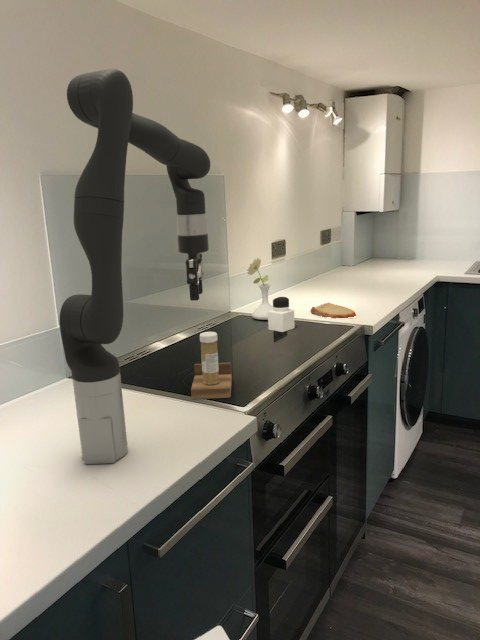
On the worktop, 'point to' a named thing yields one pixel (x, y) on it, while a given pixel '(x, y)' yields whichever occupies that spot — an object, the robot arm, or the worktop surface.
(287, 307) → the medicine bottle
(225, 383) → the dock
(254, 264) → the flower in vase
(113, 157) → the robot arm
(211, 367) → the sprinkles bottle
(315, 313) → the slice of bread
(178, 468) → the worktop surface
